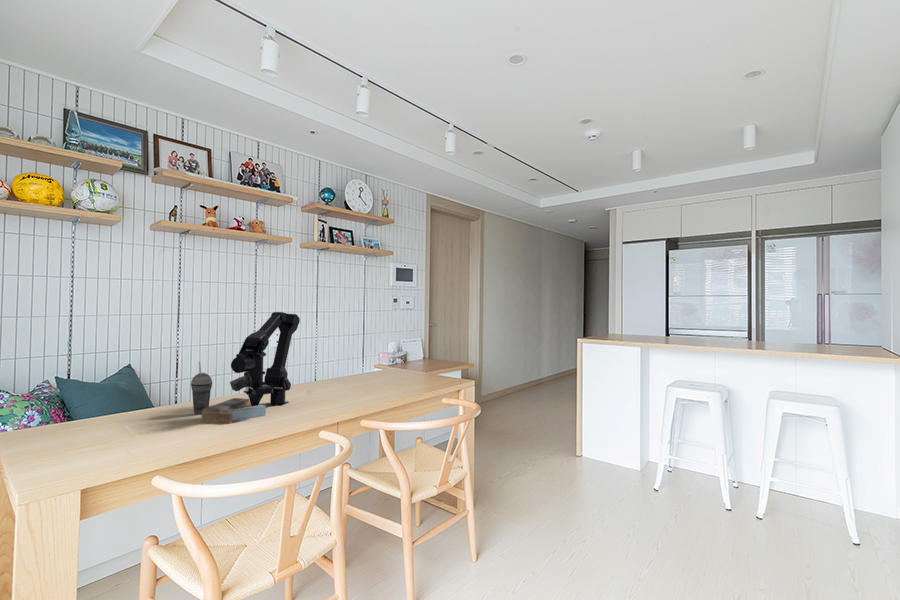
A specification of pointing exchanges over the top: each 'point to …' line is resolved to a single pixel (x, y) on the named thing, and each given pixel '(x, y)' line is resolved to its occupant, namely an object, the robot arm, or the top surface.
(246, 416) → the bar
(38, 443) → the top surface
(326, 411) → the top surface
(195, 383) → the beverage cup
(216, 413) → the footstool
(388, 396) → the top surface
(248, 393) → the robot arm
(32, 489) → the top surface
